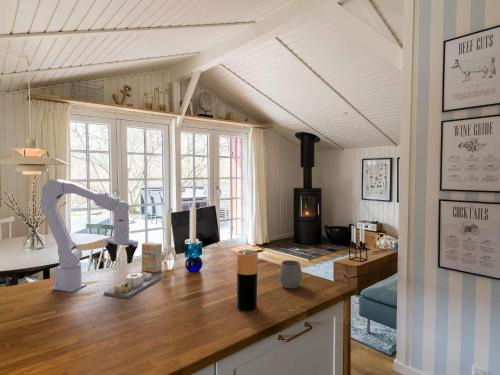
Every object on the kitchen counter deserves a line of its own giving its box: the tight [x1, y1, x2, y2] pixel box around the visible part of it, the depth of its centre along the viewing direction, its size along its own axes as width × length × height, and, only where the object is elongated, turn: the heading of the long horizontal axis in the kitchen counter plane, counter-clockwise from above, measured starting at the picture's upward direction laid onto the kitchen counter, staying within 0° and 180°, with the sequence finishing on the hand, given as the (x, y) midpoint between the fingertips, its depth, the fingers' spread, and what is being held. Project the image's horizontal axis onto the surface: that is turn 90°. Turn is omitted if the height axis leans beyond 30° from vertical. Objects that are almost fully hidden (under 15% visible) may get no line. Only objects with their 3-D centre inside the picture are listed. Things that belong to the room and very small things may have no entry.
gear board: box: [103, 271, 162, 299], centre depth 133 cm, size 11×22×4 cm, turn 163°
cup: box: [278, 259, 303, 290], centre depth 134 cm, size 10×9×10 cm
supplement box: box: [141, 241, 163, 273], centre depth 153 cm, size 8×5×13 cm, turn 73°
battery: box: [236, 249, 259, 312], centre depth 113 cm, size 7×7×20 cm
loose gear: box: [125, 272, 143, 287], centre depth 133 cm, size 5×7×4 cm
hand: (121, 262), depth 135 cm, fingers open, 7 cm apart
